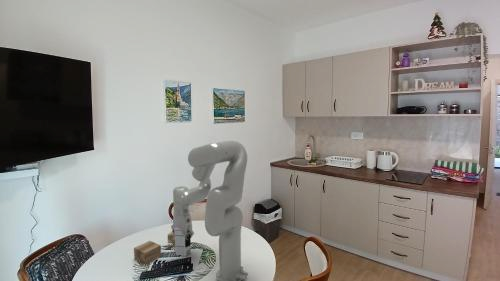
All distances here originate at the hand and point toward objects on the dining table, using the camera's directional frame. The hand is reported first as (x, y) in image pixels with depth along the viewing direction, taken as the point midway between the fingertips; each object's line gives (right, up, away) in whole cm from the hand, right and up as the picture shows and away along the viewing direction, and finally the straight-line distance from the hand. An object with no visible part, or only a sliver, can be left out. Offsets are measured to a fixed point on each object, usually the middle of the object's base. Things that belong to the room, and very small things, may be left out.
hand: (182, 243), depth 135 cm
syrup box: (0, -5, 0) cm, 5 cm away
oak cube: (-8, -4, +13) cm, 16 cm away
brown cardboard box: (-16, -5, -4) cm, 18 cm away
